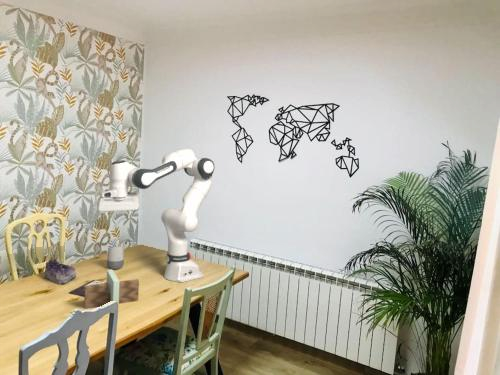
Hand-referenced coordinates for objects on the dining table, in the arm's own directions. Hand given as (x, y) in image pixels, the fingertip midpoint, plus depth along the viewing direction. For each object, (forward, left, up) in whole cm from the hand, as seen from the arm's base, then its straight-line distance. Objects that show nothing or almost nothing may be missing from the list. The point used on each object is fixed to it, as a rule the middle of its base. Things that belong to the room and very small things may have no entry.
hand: (118, 219), depth 193 cm
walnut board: (+6, +19, -36) cm, 41 cm away
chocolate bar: (+13, -3, -37) cm, 39 cm away
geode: (+26, -22, -37) cm, 50 cm away
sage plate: (+6, +19, -36) cm, 41 cm away
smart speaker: (-5, -28, -37) cm, 46 cm away
